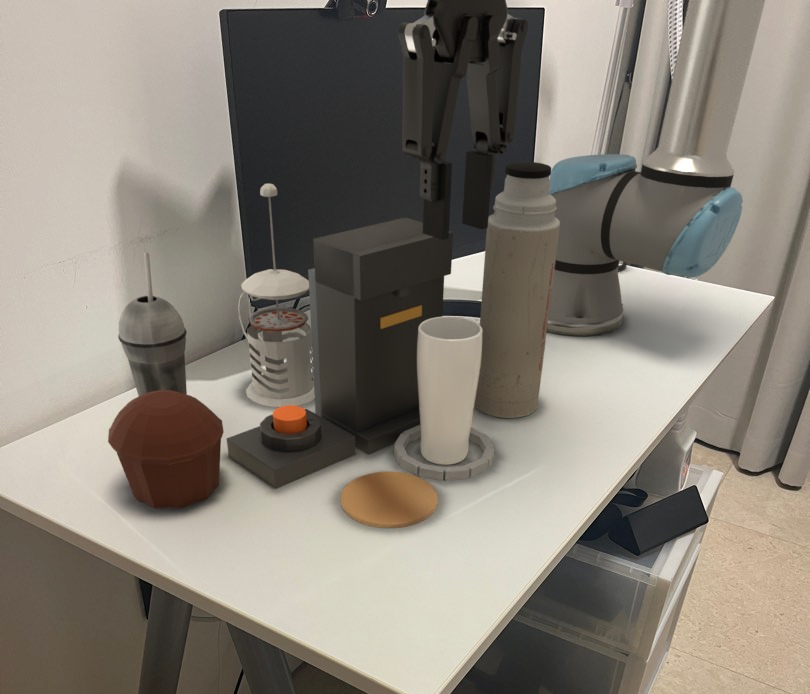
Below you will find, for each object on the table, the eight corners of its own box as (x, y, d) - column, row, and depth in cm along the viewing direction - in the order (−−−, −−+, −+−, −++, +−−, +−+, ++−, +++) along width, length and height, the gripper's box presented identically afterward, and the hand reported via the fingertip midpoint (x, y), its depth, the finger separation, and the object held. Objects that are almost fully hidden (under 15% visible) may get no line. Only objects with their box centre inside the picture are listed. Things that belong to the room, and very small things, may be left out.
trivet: (392, 466, 91) (392, 461, 91) (457, 503, 86) (457, 498, 85) (321, 498, 86) (320, 493, 85) (385, 541, 80) (385, 536, 80)
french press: (279, 416, 100) (262, 199, 86) (220, 386, 107) (194, 180, 92) (338, 390, 106) (331, 184, 92) (279, 364, 113) (263, 166, 98)
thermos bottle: (539, 393, 107) (568, 159, 90) (535, 421, 100) (565, 175, 84) (478, 386, 108) (495, 154, 92) (470, 414, 102) (487, 170, 85)
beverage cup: (123, 435, 96) (87, 261, 84) (159, 408, 101) (130, 242, 90) (177, 447, 94) (149, 271, 82) (211, 419, 99) (189, 250, 88)
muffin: (250, 493, 86) (241, 406, 81) (150, 530, 81) (133, 440, 75) (196, 448, 94) (184, 365, 88) (102, 479, 88) (82, 393, 82)
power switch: (307, 426, 98) (305, 395, 96) (356, 455, 93) (355, 423, 91) (228, 457, 92) (224, 425, 90) (275, 489, 87) (273, 456, 85)
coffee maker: (389, 390, 107) (390, 212, 94) (518, 454, 94) (540, 259, 81) (308, 420, 100) (298, 233, 87) (437, 495, 87) (447, 288, 74)
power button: (293, 416, 93) (292, 402, 92) (313, 427, 91) (312, 413, 90) (267, 426, 91) (266, 411, 90) (286, 438, 89) (285, 423, 88)
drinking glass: (429, 475, 90) (434, 344, 81) (404, 446, 95) (406, 320, 86) (484, 463, 92) (495, 334, 83) (457, 436, 97) (465, 312, 88)
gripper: (509, -71, 73) (489, 207, 86) (354, -76, 63) (359, 239, 76) (578, -70, 68) (545, 223, 82) (423, -76, 58) (415, 258, 72)
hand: (455, 230), depth 79 cm, fingers open, 5 cm apart
